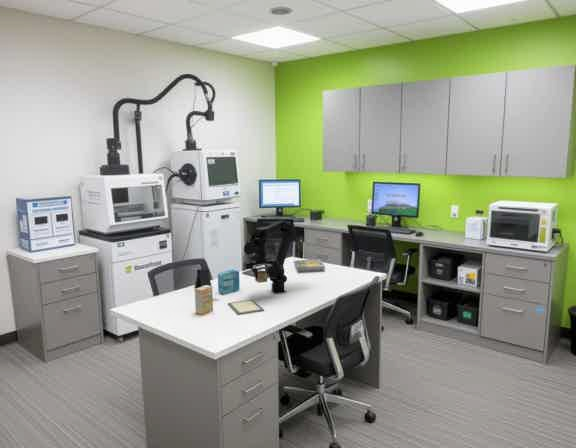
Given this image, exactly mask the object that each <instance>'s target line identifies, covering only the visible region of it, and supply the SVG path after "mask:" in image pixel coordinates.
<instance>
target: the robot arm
mask: <svg viewBox="0 0 576 448" xmlns="http://www.w3.org/2000/svg"><path fill="white" fill-rule="evenodd" d="M278 231H279V232H280V236H281V242H280V246H279V248H278V250H277V251H278V252H277V255H276V259H275V258H269V259H268V260H267V256H268V255H267V243H269V240H268V239H269V238H270V236H271V234H273V233H275V232H278ZM296 235H297V229H296V227H294V226H293V225H291V224H289V223H288V222H287V221H285V220H277V221H276V222H274V223H270V224H269V225H267V226H264V227H263V226H262V227H256V228H254V229H253V232H252V233H251V236H250V238H249V240H248V241H246V244H245V245H244V246H243V250H244V253H245V254H246V255H248V260H249V261H243V264H242V267H243V268H244V269H245V270H251V271H252V273H253V275H254V278H256V280H257V271H258V268H257V267H259V266H264V271H265V272H267V277H269V281H271V282H272V283H271V292H273V293H274V294H279V293H280V294H282V293H286V290H285V283H286V282H287V280H288V278H287V277H288V276H286V275H285V267H284V265H285V261H286V257H287V254H288V250H289V248H290V245H291V242H292V241H293V240H294V239H295V238H296Z"/></svg>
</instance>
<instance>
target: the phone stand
mask: <svg viewBox="0 0 576 448" xmlns="http://www.w3.org/2000/svg"><path fill="white" fill-rule="evenodd" d="M210 279H211V278H210V275H209V268H207V267H203V268H199V269H196V278H195V283H194V289H196V288H199V287H202V286H205V285H209V286H212V282H211V280H210Z"/></svg>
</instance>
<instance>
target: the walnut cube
mask: <svg viewBox="0 0 576 448" xmlns="http://www.w3.org/2000/svg"><path fill="white" fill-rule="evenodd" d="M254 278H255V277H254ZM255 281H256V283H260V284H261V283H267V282H268V276H267V272H265V270H257V280H256V278H255Z"/></svg>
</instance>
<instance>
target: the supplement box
mask: <svg viewBox="0 0 576 448" xmlns="http://www.w3.org/2000/svg"><path fill="white" fill-rule="evenodd" d="M213 297H214V296H213V286H212V285H211V286H209V285H205V286H202V287H199V288H194V300H195V301H194V304H195V305H194V307H195V315H200V316H204V315H206V314H208V313H210V312H213V311H214V300H213V299H214V298H213Z"/></svg>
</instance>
